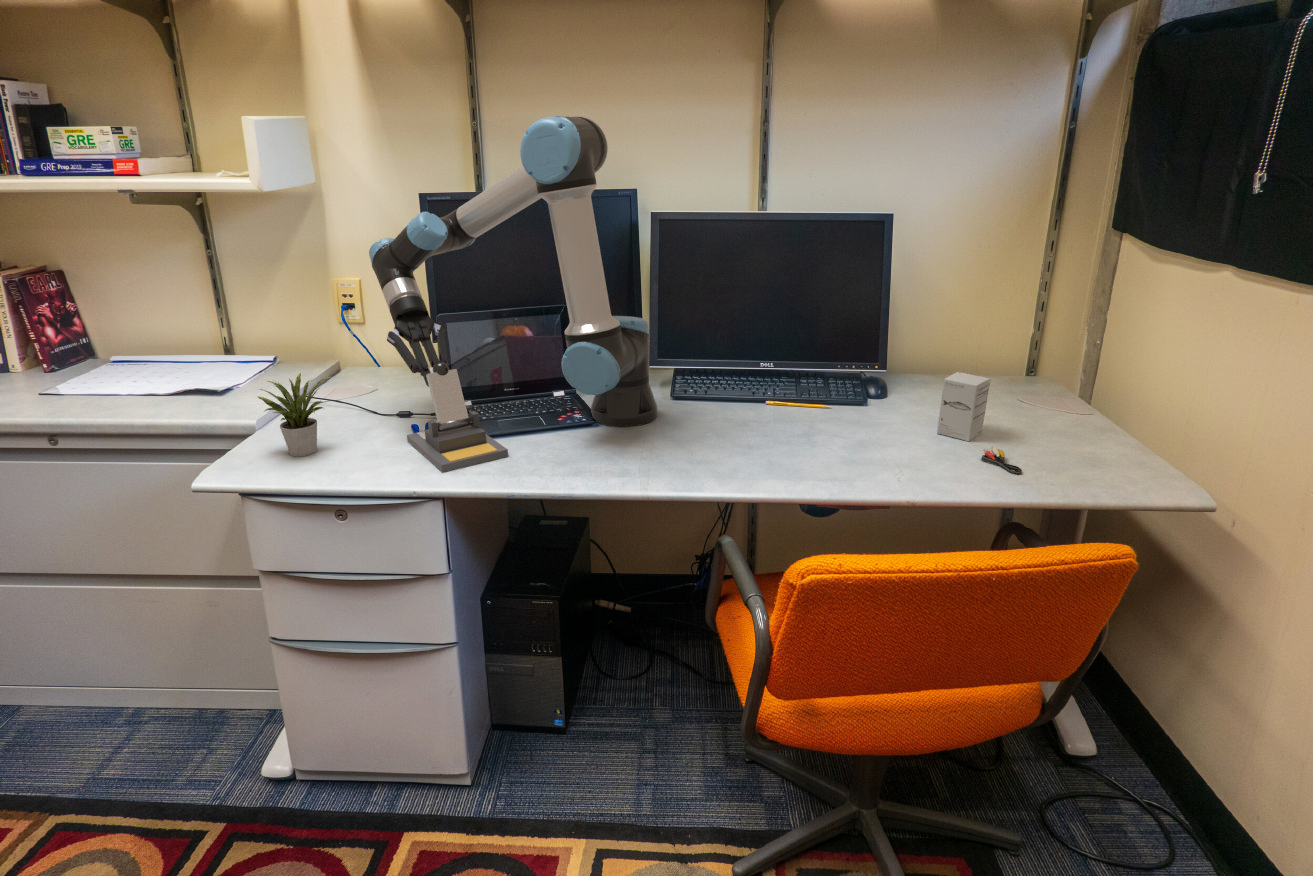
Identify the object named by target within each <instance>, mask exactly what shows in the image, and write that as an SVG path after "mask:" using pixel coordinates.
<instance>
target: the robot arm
mask: <svg viewBox="0 0 1313 876" xmlns="http://www.w3.org/2000/svg"><path fill="white" fill-rule="evenodd" d="M608 149H609V147H608V142H607V138H606V134H605V132H604V131H603V129H602V128H601V126H600V125H599V124H597V123H596V122H595V121H594V120H591V119H589V118H588V117H583V116H564V115H562V116H561V115H555V116H554V115H551V116H547V117H543V118H541V119H538V120H536V121H534V122H533V123H532V124H531V125H530V126H529V127H527V129H526V131H525V132H524V134H523V136H522V138H521V143H520V150H519V151H520V153H519V155H520V160H521V164H522V166H520V167H519V168H517V169H515V170H514V171H513V172H511V173H510V174H507V176H505V177H504V178H501V180H499V181H497V182H496V183H494V184H493V185H491V186H489V187H488V188H487V189H485V190H483V191H482V192H481V193H480V192H479V194H477V195H476V196H475V197H473V198H471V199H469V200H468V201H467V202H465V203H464V204H462V205H461V206H459V207H458V208H456V209H455V210H453V211H452V212H449V213H448V214H446V215H444V216H442V217H439V216H438V215H436V214H435V213H430V212H429V211H422V212H419V213H418V214H417V215H416V216H415V217H414V218H412V219H411V220H410V221H409V222H408V224H407V225H406V227H404V228H403V229H402V230H401V231H400V232H399V233H398V235H397V236H396V237H395V238H393V237H384V238H381V239H379V241H375V242H374V243H372V244H371V246H370V248H369V249H368V256H369V259H370V263H371V268H372V270H373V271H374V274H375V276H376V279H377V281H378V283H379V286H380V289H381V291H382V294H383V297H384V299H385V303H386V306H387V307H388V310H389V313H390V316H391V320H392V321H393V324H394V328H393V330H392V331H391V330H390V331H388V332H387V337H386V341H387V342H388V343H389V344H390V345H392V347H394V348H395V350H396V351H397V353H398V354H399V355H400V357H401V358H402V359H403V361H404V362H405V364H406V365H407V367H408V369H409V370H410V371H411V373H412V374H416V373H417V374H418V373H420V376H421V377H423V379H424V382H425V384H426V386H427V387H429V385H428V381H427V377H426V375H427V374H430V373H433V366H434V365H435V364H436V363H437V362H444V363H446V364H447V365H448V361H449V359H448V354H447V353H448V351H447V345H446V330H447V324H445V323H441V325H440V324H438V323H435V321H434V320H433V318H432V317H431V316H430V313H429V310H428V309H427V306H426V303H425V300H424V298H423V295H422V293H421V290H420V289H419V285H418V283H417V279H416V278H415V275H414V272H415V271H416V270H417V269H419V267H420V266H421V265H422V264H423V263H424V262H425V261H426V260H428V259H429V258H430V257H432V256H437V255H441V254H444V253H447V252H451V251H456V250H462V249H465V248H467V247H469V246H472V245H473V244H474V242H475V241H476V239H477V238H478V237H480V236H482V235H483V234H485V233H487V232H488V231H490V230H491V229H493V228H495V227H496V226H498V225H499V224H501V223H503V222H504V221H506V220H508V219H510V218H511V217H512V216H514V215H516V214H518V213H519V212H521V211H522V210H524V209H526V208H528V207H529V206H530V205H532V204H534V203H536V202H537V201H539V200H541V199H543V200H544V201H545V202H546V203H547V206H548V207H547V208H548V213H549V218H550V223H551V229H552V233H553V238H554V244H555V248H556V254H557V260H558V266H559V270H560V276H561V282H562V287H563V293H564V296H565V302H566V306H567V314H568V318H569V323H568V325H567V327H566V328H565V330H564V338H565V343H566V347H567V348H566V349H565V351H564V354H563V356H562V358H561V371H562V374H563V376H564V379H565V380H566V382H567V384H568V385H570V386H571V387H572V388H574V389H575V390H576V391H577V392H579V393H581V394H584V395H588V396H594V397H593V400H592V403H591V408H590V409H591V411H590V413H592V416H593V418H594V419H595V420H596V421H595V422H596V423H598V424H601V425H605V426H610V427H620V428H621V427H635V426H641V425H645V424H648V423H650V422H652V421H654V420H655V419H657V417H658V404H657V402H656V399H655V397H654V393H653V391H652V388H651V384H650V336H651V335H650V332H649V331H650V330H649V323H648V321H647V320H646V319H644V318H642V317H637V316H627V315H612V312H611V307H610V300H609V294H608V289H607V284H606V283H607V282H606V277H605V272H604V265H603V260H602V254H601V247H600V243H599V242H600V241H599V236H598V230H597V226H596V224H597V223H596V219H595V213H594V207H593V201H592V194H593V192H594V191H595V189H596V188H597V186H598V185H597V179H596V173H597V172H598V171H600V170H601V168H602V167H603V165H604V164H605V162H606V160H607V155H608ZM433 330H434V334H435V336H437V337H436V342H437V343H436V345H437V352H436V350H435V347H434V344H433V342H432V338H431V334H432V333H433ZM403 339H404V340H405V341H407V342H408V345H409V347H410V349H411V350H412V352H413V353H412V352H411V351H410V349H409V348H408V346H407V345H406V343H405V342H404V341H403ZM422 347H423V348H422ZM423 349H424V350H423ZM424 352H425V353H424ZM437 353H438V355H437ZM426 356H427V358H426ZM427 359H428V361H427ZM428 362H429V364H430V367H429V364H428Z"/></svg>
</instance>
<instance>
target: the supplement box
mask: <svg viewBox="0 0 1313 876" xmlns="http://www.w3.org/2000/svg"><path fill="white" fill-rule="evenodd" d="M991 379H992V378H990V377H985V376H980V375H974V374H971V373H965V372H961V371H957V372H954V373H952V374H951V375H948V376H947V377H945V378H944V380H943V387H942V393H941V399H940V401H941V402H940V407H939V415H938V421H937V422H938V423H937V429H936V434H937V435H942V436H947V437H952V438H955V439H958V440H963V441H965V442H970V441H972V440H973V439H975V438H977V437H978V436H979V435H981V434H983V426H984V421H985V415H986V409H987V403H988V397H989V391H990V384H991V381H992V380H991Z"/></svg>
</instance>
